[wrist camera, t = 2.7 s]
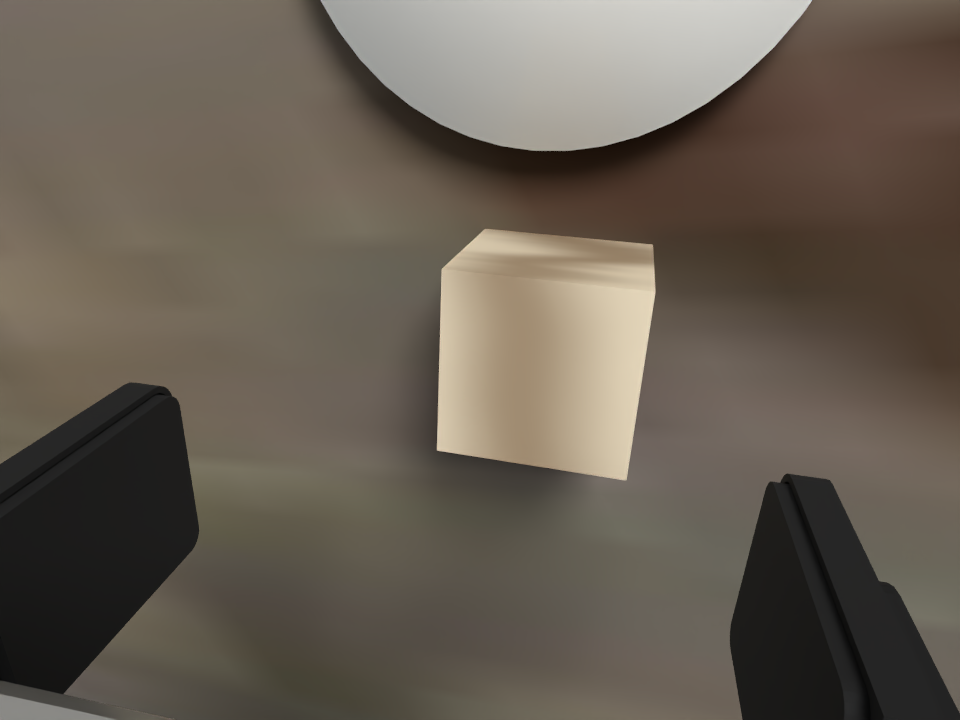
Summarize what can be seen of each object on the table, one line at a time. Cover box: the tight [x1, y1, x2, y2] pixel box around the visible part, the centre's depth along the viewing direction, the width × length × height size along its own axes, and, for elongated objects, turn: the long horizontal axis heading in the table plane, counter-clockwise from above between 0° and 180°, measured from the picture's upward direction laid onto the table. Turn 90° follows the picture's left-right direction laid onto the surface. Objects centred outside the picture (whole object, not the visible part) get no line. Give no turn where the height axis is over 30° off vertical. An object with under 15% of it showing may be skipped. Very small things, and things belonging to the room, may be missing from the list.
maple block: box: [437, 229, 655, 480], centre depth 19 cm, size 5×5×5 cm
